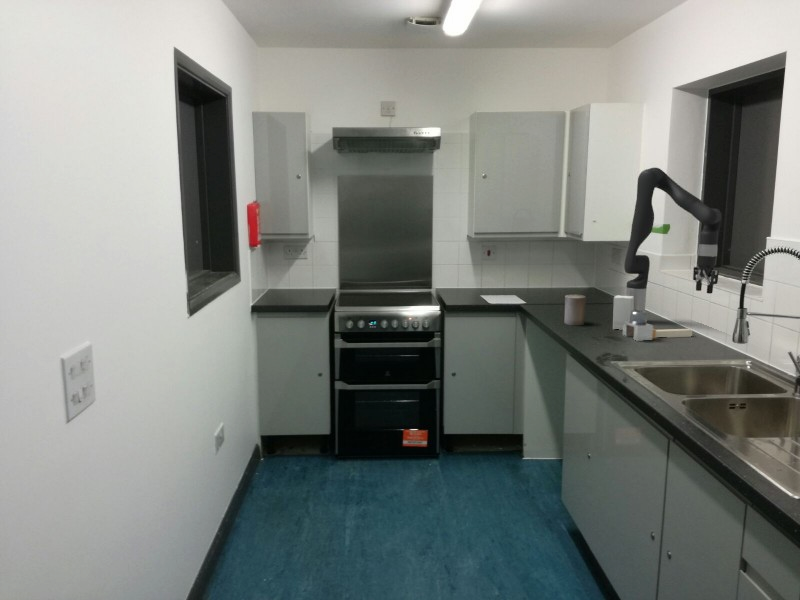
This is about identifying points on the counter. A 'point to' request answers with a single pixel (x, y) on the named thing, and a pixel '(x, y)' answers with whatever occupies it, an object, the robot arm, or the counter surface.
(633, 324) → the grey box with ball
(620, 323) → the skincare box
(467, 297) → the counter surface
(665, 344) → the counter surface
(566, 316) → the pillar candle
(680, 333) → the plug rod
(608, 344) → the counter surface
